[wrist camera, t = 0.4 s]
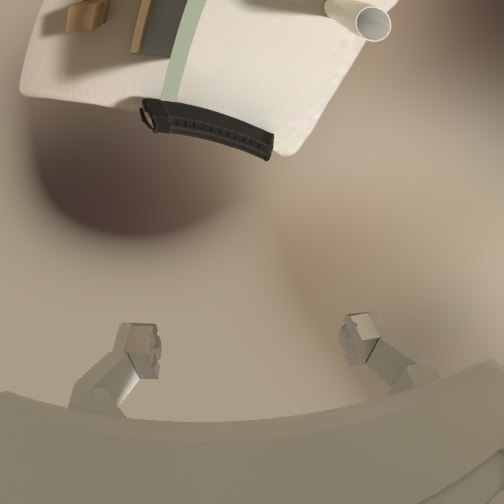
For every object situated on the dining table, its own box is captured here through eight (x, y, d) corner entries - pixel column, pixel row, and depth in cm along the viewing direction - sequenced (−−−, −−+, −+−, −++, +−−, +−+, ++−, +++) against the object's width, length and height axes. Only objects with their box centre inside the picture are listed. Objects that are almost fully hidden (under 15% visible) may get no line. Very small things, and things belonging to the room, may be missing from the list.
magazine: (291, 156, 59) (155, 143, 40) (283, 167, 61) (150, 158, 43) (258, 112, 65) (141, 94, 47) (252, 122, 67) (137, 107, 49)
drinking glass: (318, 20, 39) (352, 39, 31) (319, -9, 33) (356, 2, 25) (349, 23, 39) (388, 45, 31) (352, -4, 33) (394, 10, 25)
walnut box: (79, 22, 30) (62, 32, 25) (83, 0, 26) (66, 6, 22) (105, 21, 32) (91, 30, 27) (110, -2, 28) (96, 3, 24)
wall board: (132, 52, 39) (102, 96, 28) (154, -31, 25) (126, -33, 14) (182, 57, 43) (175, 102, 32) (210, -24, 29) (216, -25, 18)
